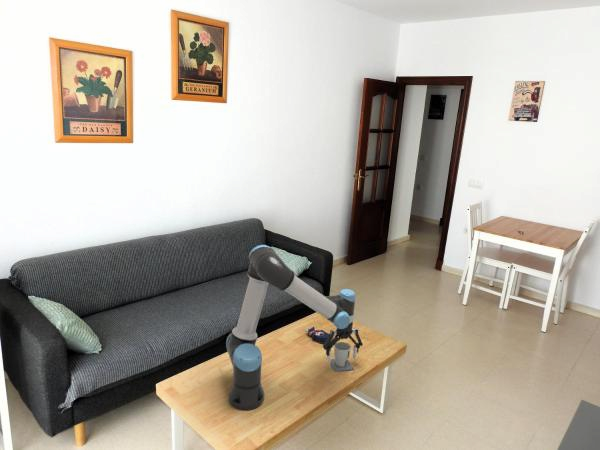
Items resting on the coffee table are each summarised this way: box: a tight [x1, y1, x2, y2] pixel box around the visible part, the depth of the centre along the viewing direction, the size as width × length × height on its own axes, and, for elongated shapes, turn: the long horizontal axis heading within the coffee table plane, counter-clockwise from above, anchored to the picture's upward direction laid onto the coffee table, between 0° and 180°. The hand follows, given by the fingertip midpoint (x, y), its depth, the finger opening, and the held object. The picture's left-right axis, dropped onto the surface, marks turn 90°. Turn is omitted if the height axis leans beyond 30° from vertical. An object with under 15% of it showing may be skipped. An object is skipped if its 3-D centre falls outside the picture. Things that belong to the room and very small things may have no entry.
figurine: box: [304, 326, 330, 344], centre depth 242 cm, size 9×4×15 cm
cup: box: [333, 341, 352, 367], centre depth 217 cm, size 8×8×10 cm
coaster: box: [329, 358, 355, 373], centre depth 218 cm, size 10×10×1 cm
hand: (341, 359), depth 217 cm, fingers open, 13 cm apart
